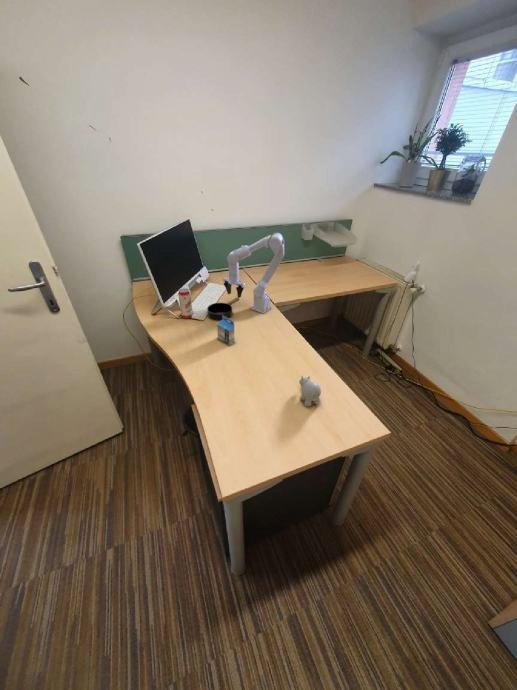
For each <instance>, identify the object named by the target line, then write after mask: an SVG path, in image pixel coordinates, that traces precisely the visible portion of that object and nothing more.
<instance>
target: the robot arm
mask: <svg viewBox="0 0 517 690" xmlns="http://www.w3.org/2000/svg"><path fill="white" fill-rule="evenodd" d="M262 248H266V249H269V248H270V249H271V251H272V252H273V255H274V256H273V258H272V259H271V261H270V262H269V264H268V267H267V268H266V270H265V272H264V274H263V275H262V277H261V278H260V280H259V281H257V282H256V284H255V287H254V288H253V306H252V307H250V310H252V311H254V312H255V311H256V312H259V313H260V314H264V313H266V312H267V311H269V310H270V309H271V298H270V297H269V296H268V295H267V293H266V290H267V287H268V285H269V283H270V281H271V279H272V278H273V276H274V274H275V272H276V271H277V269H278V268H279V266H280V263H282V261H283V259H284V257H285V239H284V237H283V235H282V234H281V233H280V232H274V233H272V234H269V235H266V236H265V237H263V238H261V239H259V240H258V241H256V242H254V243H252V244H250V245H247V244H245V245H244V244H242V245H241V246H240V247H239V248H237V249H234V250H233V251H231V252H230V253H229V254H228V255H227V256H226V261H227V263H228V277H223V279H222V281H223V282H224V283H223V286H224V288H225V289H226V292H227V295H231V294H232V285H235V286H236V287H235V290H236V293H237V298H239V299H240V298H241V297H242V293H243V291H244V289H245V287H246V283H244V282H242V281H241V280H240V264H239V261H242V260H244V259H246V258H248V257H250V256H251V255H252V253H253V252H255V251H257V250H260V249H262Z"/></svg>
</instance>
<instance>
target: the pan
mask: <svg viewBox="0 0 517 690" xmlns="http://www.w3.org/2000/svg"><path fill="white" fill-rule="evenodd" d="M238 301H240V298H238V297H235V298H233V299H231V300H229V301H227V302H214V303H211V304H209V305H208V306H207V307H206V311H207V317H208V318H209V320H213V321H218V322H220V321H221V320H222V315H223V316H225V317H227V318H229V319H231V317H232V316H233V307H232V305H233V304H235V303H237V302H238Z"/></svg>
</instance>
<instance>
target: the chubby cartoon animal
mask: <svg viewBox="0 0 517 690" xmlns="http://www.w3.org/2000/svg"><path fill="white" fill-rule="evenodd" d="M310 376H311V375H309V376H307V377H304V376H303V375H301V377H300V379H299V380H298V381H299V382H298V383H299V385H300V387H301V392H300V393H301V396H300V397H301V400H302V401H303V402H304V406H306V407H308V408H309V407H311V406H312V403H313V404H315V405H319V404H320V403H321V400H320V399H321V398H320V397H321V394H322V390H321V387H320V385H319V384H318V383H317V382H315V381H311V379H310V378H311V377H310Z"/></svg>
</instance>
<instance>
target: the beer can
mask: <svg viewBox="0 0 517 690" xmlns="http://www.w3.org/2000/svg"><path fill="white" fill-rule="evenodd" d="M177 295H178V302H179V307H180V309H179V310H180V314H181V318H183V319H187V320H188V319H192V317H193V316H194V313H193V303H192V298H191V297H192V296H191V292H190V290H189V288H180V289H178V293H177ZM192 315H193V316H192Z"/></svg>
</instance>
